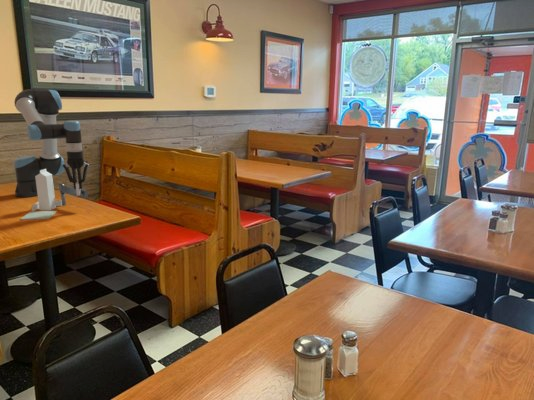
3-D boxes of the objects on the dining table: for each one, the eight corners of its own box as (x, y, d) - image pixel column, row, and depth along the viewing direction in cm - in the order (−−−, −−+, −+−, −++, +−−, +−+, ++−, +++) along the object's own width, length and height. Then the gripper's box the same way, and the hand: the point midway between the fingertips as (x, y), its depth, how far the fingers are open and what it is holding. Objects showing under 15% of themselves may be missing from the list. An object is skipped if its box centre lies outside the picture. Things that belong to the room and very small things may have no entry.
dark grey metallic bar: (59, 193, 232) (58, 184, 231) (63, 192, 234) (62, 183, 233) (84, 198, 220) (83, 189, 219) (88, 197, 222) (88, 188, 221)
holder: (40, 205, 233) (39, 193, 231) (66, 204, 235) (65, 192, 233) (32, 211, 220) (30, 199, 218) (58, 210, 222) (57, 198, 221)
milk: (39, 210, 223) (33, 170, 217) (45, 207, 228) (40, 168, 223) (50, 210, 222) (45, 170, 217) (56, 207, 228) (51, 168, 223)
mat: (30, 212, 218) (30, 211, 218) (56, 211, 220) (56, 210, 220) (20, 219, 206) (20, 218, 206) (48, 218, 208) (48, 217, 208)
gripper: (59, 151, 210) (63, 196, 216) (85, 151, 212) (90, 196, 218) (63, 150, 217) (68, 193, 223) (89, 150, 219) (93, 193, 225)
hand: (78, 194), depth 220 cm, fingers closed
